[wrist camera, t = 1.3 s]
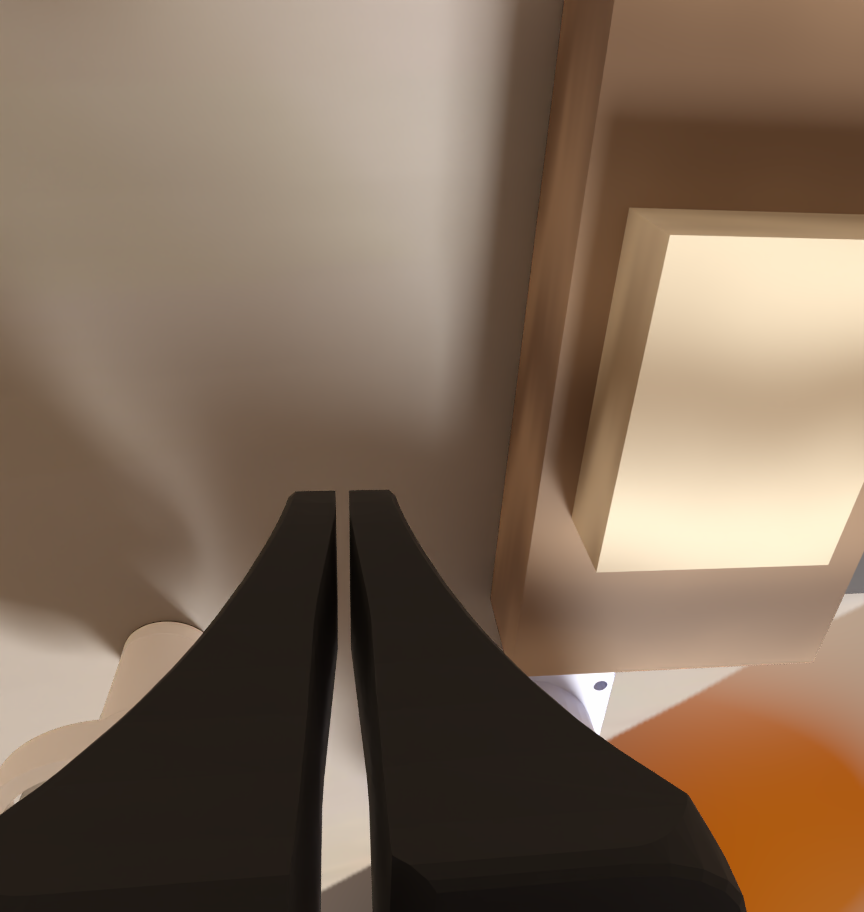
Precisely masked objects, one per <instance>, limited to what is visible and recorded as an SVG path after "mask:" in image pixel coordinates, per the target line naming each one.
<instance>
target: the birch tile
mask: <svg viewBox="0 0 864 912" xmlns="http://www.w3.org/2000/svg"><path fill="white" fill-rule="evenodd" d="M863 483H864V215H860V214H827V213H793V212H759V211H726V210H692V209H658V208H629V211H628V217H627V222H626V228H625V233H624V238H623V244H622V249H621V254H620V260H619V265H618V271H617V276H616V281H615V287H614V292H613V297H612V303H611V308H610V314H609V319H608V324H607V330H606V335H605V340H604V346H603V351H602V357H601V362H600V367H599V373H598V378H597V383H596V389H595V394H594V400H593V405H592V410H591V416H590V421H589V427H588V432H587V437H586V443H585V448H584V453H583V459H582V464H581V470H580V475H579V480H578V486H577V491H576V496H575V502H574V507H573V513H572V521H573V523H574V525H575V527H576V529H577V532H578V534H579V536H580V538H581V540H582V542H583V545H584V547H585V549H586V551H587V553H588V555H589V558H590V560H591V562H592V564H593V566H594V568H595V571H596V573H597V572H628V571H658V570H689V569H719V568H750V567H780V566H811V565H828V564H829V562H830V560H831V557H832V555H833V553H834V550H835V548H836V546H837V543H838V541H839V539H840V536H841V534H842V532H843V529H844V527H845V525H846V522H847V520H848V518H849V515H850V513H851V511H852V508H853V506H854V504H855V501H856V499H857V497H858V494H859V492H860V490H861V487H862V485H863Z"/></svg>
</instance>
